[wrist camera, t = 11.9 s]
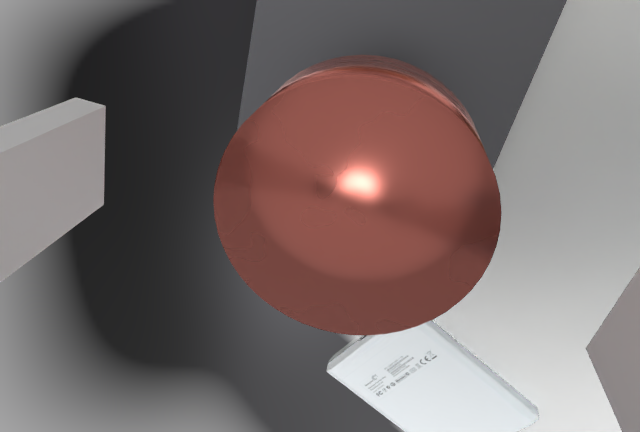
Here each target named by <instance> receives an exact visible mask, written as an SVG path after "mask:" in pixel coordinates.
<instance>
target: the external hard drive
mask: <svg viewBox="0 0 640 432" xmlns="http://www.w3.org/2000/svg"><path fill="white" fill-rule="evenodd" d="M327 372H328V373H329V374H330V375H332V376H333V377H334V378H336V379H337V380H338V381H340V382H341V383H342V384H344V385H345V386H346V387H348V388H349V389H350V390H351V391H353V392H354V393H355V394H357V395H358V396H359V397H360V398H362V399H363V400H364V401H366V402H367V403H368V404H369V405H371V406H372V407H373V408H375V409H376V410H377V411H379V412H380V413H381V414H383V415H384V416H385V417H386V418H388V419H389V420H390V421H392V422H393V423H394V424H396V425H397V426H398V427H399V428H401V429H402V430H403V431H405V432H519V431H521V430H523V429H525V428H526V427H528V426H530V425H532V424H533V423H535V422H536V421H537V420H538V419H539V413H538V409H537V407H536V406H535V405H534V404H532V403H531V402H530V401H529V400H527V399H526V398H525V397H524V396H523V395H521V394H520V393H519V392H518V391H517V390H515V389H514V388H513V387H512V386H510V385H509V384H508V383H507V382H506V381H504V380H503V379H502V378H501V377H499V376H498V375H497V374H496V373H495V372H493V371H492V370H491V369H490V368H489V367H487V366H486V365H485V364H484V363H482V362H481V361H480V360H479V359H478V358H476V357H475V356H474V355H473V354H472V353H470V352H469V351H468V350H467V349H465V348H464V347H463V346H462V345H461V344H459V343H458V342H457V341H456V340H454V339H453V338H452V337H451V336H450V335H448V334H447V333H446V332H445V331H444V330H442V329H441V328H440V327H439V326H437V325H436V324H435V323H434V322H433V321H431V320H430V321H428V322H426V323H423V324H421V325H419V326H416V327H413V328H410V329H406V330H403V331H399V332H394V333H388V334H380V335H367V336H366V337H365V338H363V339H362V340H358V341H356V342H355V340H354V339H353V340H352V341H351V342H350V343H348V344H347V345H346V346H345V347H343V348H342V349H341V350H340V351H338V352H337V353H336V354H335V355H333V356H332V358H331V359H330V360H329V362H328V366H327Z"/></svg>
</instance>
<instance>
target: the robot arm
mask: <svg viewBox="0 0 640 432" xmlns="http://www.w3.org/2000/svg"><path fill="white" fill-rule="evenodd" d="M104 155H105V106H104V105H100V104H97V103H93V102H90V101H86V100H83V99H79V98H73V99H71V100H68V101H65V102H63V103H61V104H58V105H55V106H52V107H50V108H47V109H45V110H42V111H39V112H37V113H34V114H32V115H29V116H27V117H24V118H21V119H18V120H16V121H13V122H11V123H8V124H5V125H3V126H0V282H2V281H3V280H4V279H6V278H7V277H8V276H10V275H11V274H12V273H14V272H15V271H16V270H18V269H19V268H20V267H21V266H23V265H24V264H25V263H27V262H28V261H29V260H31V259H32V258H33V257H35V256H36V255H37V254H39V253H40V252H41V251H43V250H44V249H45V248H47V247H48V246H49V245H50V244H52V243H53V242H55V241H56V240H57V239H59V238H60V237H61V236H62V235H64V234H65V233H66V232H68V231H69V230H70V229H72V228H73V227H74V226H76V225H77V224H78V223H80V222H81V221H82V220H84V219H85V218H86V217H88V216H89V215H90V214H91V213H92V212H94V211H95V210H97V209H98V208H100V207H101V206H102V205H103V204H104V161H105V157H104ZM586 350H587V352H588V354H589V357H590V359H591V361H592V363H593V366H594V368H595V370H596V373H597V375H598V377H599V379H600V382H601V384H602V386H603V389H604V391H605V393H606V395H607V398H608V400H609V402H610V405H611V407H612V409H613V412H614V414H615V416H616V418H617V421H618V423H619V425H620V428H621V430H622V432H640V268H639V269H638V271H637V272H636V274H635V275H634V277H633V278H632V280H631V281H630V283H629V284H628V286H627V287H626V289H625V290H624V292H623V293H622V295H621V296H620V298H619V299H618V301H617V302H616V304H615V305H614V307H613V308H612V310H611V311H610V313H609V314H608V316H607V317H606V319H605V320H604V322H603V323H602V325H601V326H600V328H599V329H598V331H597V332H596V334H595V335H594V337H593V338H592V340H591V341H590V343H589V344H588V346H587V347H586Z"/></svg>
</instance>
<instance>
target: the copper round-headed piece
mask: <svg viewBox="0 0 640 432" xmlns="http://www.w3.org/2000/svg"><path fill="white" fill-rule="evenodd" d="M214 213H215V214H214V215H215V221H216V225H217V230H218V234H219V237H220V239H221V242H222V245H223V248H224V250H225V252H226V254H227V256H228V258H229V260H230V261H231V263H232V265H233V266H234V268H235V269H236V271H237V272H238V274H239V275H240V276H241V278H242V279H243V280H244V281H245V282H246V283H247V285H248V286H249V287H250V288H251V289H252V290H253V291H254V292H255V293H256V294H257V295H258V296H260V297H261V298H262V299H263V300H264V301H266V302H267V303H268V304H270V305H271V306H272V307H274V308H275V309H277V310H278V311H280V312H282V313H283V314H285V315H287V316H288V317H291V318H293V319H295V320H297V321H299V322H301V323H303V324H306V325H309V326H312V327H315V328H318V329H321V330H326V331H330V332H334V333H341V334H348V335H380V334H388V333H394V332H399V331H403V330H406V329H410V328H413V327H416V326H419V325H421V324H423V323H426V322H428V321H430V320H433V319H434V318H436V317H438V316H440V315H441V314H443V313H445V312H446V311H448V310H449V309H450V308H452V307H453V306H454V305H456V304H457V303H458V302H460V301H461V300H462V299H463V298H464V297H465V296H466V295H467V294H468V293H469V292H470V291H471V290H472V289H473V287H474V286H475V285H476V283H477V282H478V281H479V280H480V278H481V277H482V275H483V274H484V272H485V270H486V268H487V267H488V265H489V263H490V261H491V258H492V256H493V253H494V251H495V248H496V245H497V241H498V236H499V232H500V223H501V203H500V193H499V189H498V185H497V181H496V176H495V174H494V171H493V169H492V167H491V164H490V162H489V159H488V157H487V154H486V152H485V149H484V147H483V145H482V142H481V140H480V137H479V135H478V132H477V130H476V127H475V125H474V123H473V120H472V119H471V117H470V115H469V113H468V112H467V110H466V108H465V107H464V105H463V104H462V103H461V102H460V100H459V99H458V98H457V97H456V95H455V94H454V93H453V92H452V91H451V90H450V89H448V88H447V87H446V86H445V85H444V84H443V83H442V82H441V81H439V80H438V79H436V78H435V77H434V76H432V75H431V74H429V73H428V72H426V71H424V70H422V69H420V68H418V67H416V66H414V65H412V64H409V63H406V62H403V61H400V60H397V59H393V58H388V57H383V56H376V55H351V56H342V57H338V58H333V59H328V60H326V61H323V62H320V63H317V64H315V65H312V66H310V67H308V68H307V69H305V70H303V71H301V72H299V73H298V74H296V75H295V76H293V77H292V78H291V79H289V80H288V81H286V82H285V83H284V84H283V85H282V86H281V87H280V88H279V89H278V90H277V91H276V92H275V93H274V94H273V95H272V96H271V97H270V98H269V99H268V100H267V101H266V102H265V103H263V104H262V105H261V106H260V107H259V108H258V109H257V110H256V111H255V112H254V113H253V114H252V115H251V116H250V117H249V118H248V119H247V120H246V121H245V122H244V123H243V124H242V125H241V127H240V128H239V129H238V131H237V132H236V133H235V134H234V136H233V137H232V139H231V141H230V142H229V144H228V146H227V148H226V150H225V151H224V154H223V156H222V159H221V162H220V165H219V167H218V171H217V176H216V180H215V185H214Z"/></svg>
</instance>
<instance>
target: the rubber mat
mask: <svg viewBox="0 0 640 432" xmlns="http://www.w3.org/2000/svg"><path fill="white" fill-rule="evenodd" d="M566 1H567V0H257V3H256V9H255V16H254V22H253V29H252V35H251V42H250V49H249V56H248V61H247V68H246V74H245V81H244V87H243V94H242V100H241V107H240V113H239V120H238V126H237V131H238V129H239V128H240V127H241V125H242V124H243V123H244V122H245V121H246V120H247V119H248V118H249V117H250V116H251V115H252V114H253V113H254V112H255V111H256V110H257V109H258V108H259V107H260V106H261V105H262V104H263V103H265V102H266V101H267V100H268V99H269V98H270V97H271V96H272V95H273V94H274V93H275V92H276V91H277V90H278V89H279V88H280V87H281V86H282V85H283V84H284V83H285V82H286V81H288V80H289V79H291V78H292V77H293V76H295V75H296V74H298V73H299V72H301V71H303V70H305V69H307V68H308V67H310V66H312V65H315V64H317V63H320V62H323V61H326V60H328V59H333V58H338V57H342V56H351V55H376V56H383V57H388V58H393V59H397V60H400V61H403V62H406V63H409V64H412V65H414V66H416V67H418V68H420V69H422V70H424V71H426V72H428V73H429V74H431V75H432V76H434V77H435V78H436V79H438V80H439V81H441V82H442V83H443V84H444V85H445V86H446V87H447V88H448V89H450V90H451V91H452V92H453V93H454V94H455V95H456V97H457V98H458V99H459V100H460V102H461V103H462V104H463V105H464V107H465V108H466V110H467V112H468V113H469V115H470V117H471V119H472V120H473V123H474V125H475V127H476V130H477V132H478V135H479V137H480V140H481V142H482V145H483V147H484V149H485V152H486V154H487V157H488V159H489V162H490V164H491V167H492V169H493V167H494V165H495V163H496V161H497V158H498V156H499V154H500V151H501V149H502V147H503V145H504V142H505V140H506V138H507V136H508V133H509V131H510V129H511V126H512V124H513V122H514V120H515V117H516V115H517V113H518V110H519V108H520V106H521V104H522V101H523V99H524V97H525V94H526V92H527V90H528V88H529V85H530V83H531V81H532V78H533V76H534V74H535V72H536V69H537V67H538V65H539V62H540V60H541V58H542V56H543V53H544V51H545V49H546V46H547V44H548V42H549V40H550V37H551V35H552V33H553V30H554V28H555V26H556V24H557V21H558V19H559V17H560V14H561V12H562V10H563V8H564V5H565V3H566Z"/></svg>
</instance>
